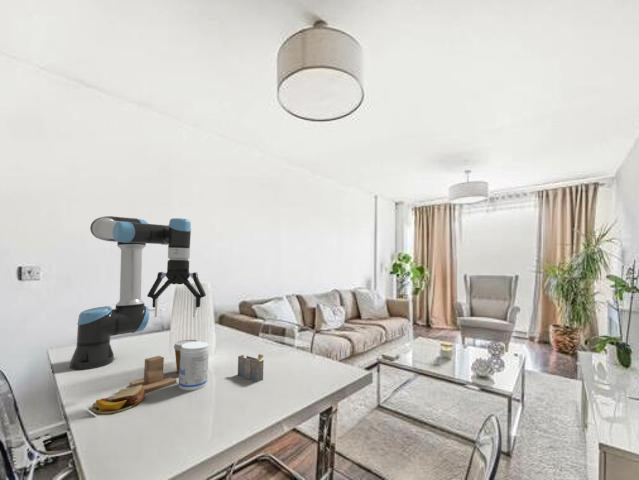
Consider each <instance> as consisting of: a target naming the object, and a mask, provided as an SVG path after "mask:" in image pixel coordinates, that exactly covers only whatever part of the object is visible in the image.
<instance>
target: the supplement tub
mask: <svg viewBox="0 0 639 480" xmlns="http://www.w3.org/2000/svg"><path fill="white" fill-rule="evenodd" d="M209 346H210V345H209V343H208V342H205V341H198V342H189V343H185V344H183V345H182V346H181V351H180V368H179V374H178V388H179V389H180V390H181V391H197V390H200V389H203V388H205V387H206V386H207V384H208V373H209V372H208V369H209V352H210V351H209V350H210V348H209Z"/></svg>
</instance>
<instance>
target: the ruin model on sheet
mask: <svg viewBox="0 0 639 480" xmlns="http://www.w3.org/2000/svg"><path fill="white" fill-rule="evenodd" d="M244 356H245V354H243V355H242V354H241V355H238V357H237V376H239V377H242V378H245V379H248V380H252V381H255V382H257V383H259V382H261V381H264V362H265V361H264V359H263V358H264V354H261V353H259V354H258V355H257V358H256V357H253V356H249V355H246V357H244ZM262 359H263V360H262Z"/></svg>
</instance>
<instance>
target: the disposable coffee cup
mask: <svg viewBox="0 0 639 480" xmlns="http://www.w3.org/2000/svg"><path fill="white" fill-rule="evenodd" d="M189 342H199V340H197V339H182V340H179V341H176V342H175V344H174V346H173V348H174V353H175V364H176V373H177V375H179V368H180V351H181V346H182V345H183V344H185V343H189Z"/></svg>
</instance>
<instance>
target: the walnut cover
mask: <svg viewBox="0 0 639 480" xmlns="http://www.w3.org/2000/svg"><path fill="white" fill-rule="evenodd" d="M164 361H165V359H164V356H161V355H157V356H153V357H148V358H144V368H143V369H144V371H143V378H140V379H136V380H132V381H129V385H128V386H131V387H135V386H139V385H142V386H143V388H144V391H145V394H146V393H148V394H150V393H149V392H151V393H153V392H152V391H154V392H156V391H155V390H157V391H159V390H158V389H160V390H162V389H161V388H163V389H165V388H164V387H166V388H168V387H167V386H169V387H171V386H170V385H172V384H175V383H176V382H177V379H176V378H173V377H171V376H169V375H166V374H164V364H165V362H164ZM175 385H176V384H175ZM172 386H173V385H172ZM146 395H147V394H146Z"/></svg>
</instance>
